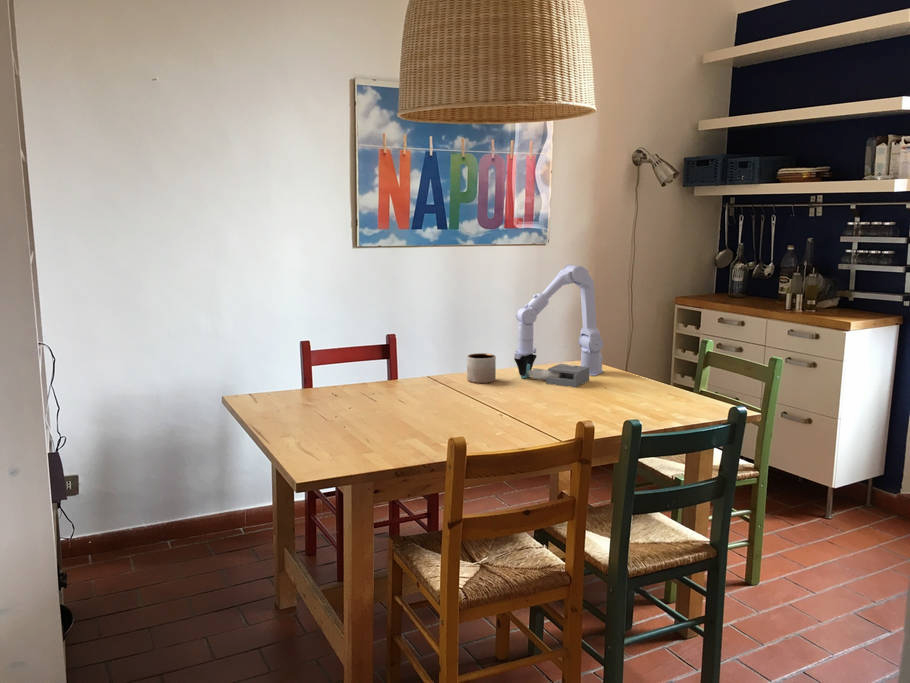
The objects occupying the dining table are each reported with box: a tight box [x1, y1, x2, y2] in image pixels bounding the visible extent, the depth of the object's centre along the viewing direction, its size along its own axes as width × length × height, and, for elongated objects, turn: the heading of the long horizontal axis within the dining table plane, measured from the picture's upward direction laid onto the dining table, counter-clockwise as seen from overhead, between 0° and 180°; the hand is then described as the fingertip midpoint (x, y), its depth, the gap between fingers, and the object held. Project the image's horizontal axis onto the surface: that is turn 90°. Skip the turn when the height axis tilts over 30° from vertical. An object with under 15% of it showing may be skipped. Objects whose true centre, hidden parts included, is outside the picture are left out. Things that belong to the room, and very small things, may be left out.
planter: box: [466, 352, 497, 384], centre depth 300 cm, size 11×11×10 cm
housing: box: [545, 363, 590, 388], centre depth 298 cm, size 12×12×5 cm
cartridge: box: [520, 364, 562, 381], centre depth 302 cm, size 4×16×5 cm, turn 58°
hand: (525, 374), depth 305 cm, fingers closed on cartridge, 4 cm apart
